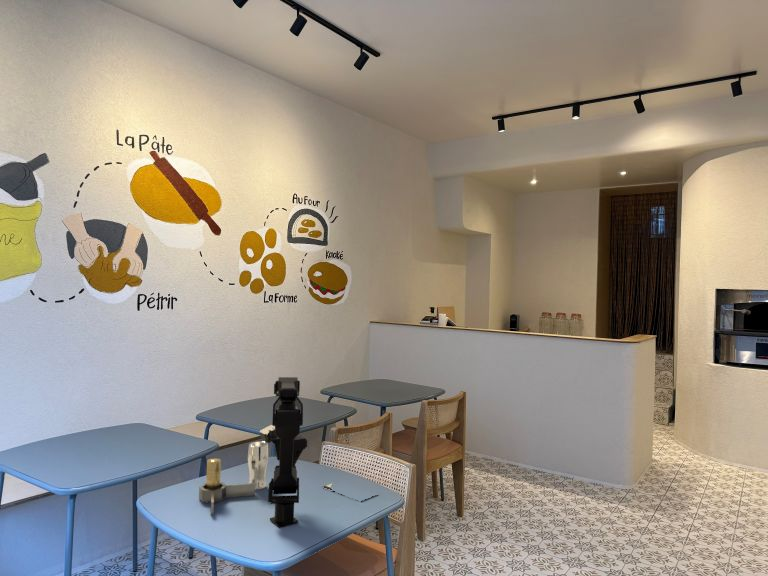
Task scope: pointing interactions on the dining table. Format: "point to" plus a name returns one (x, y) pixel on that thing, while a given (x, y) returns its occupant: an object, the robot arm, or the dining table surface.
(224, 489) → the grey ring with arms
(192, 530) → the dining table surface
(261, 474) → the beer glass
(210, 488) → the hinge pin
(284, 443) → the robot arm
